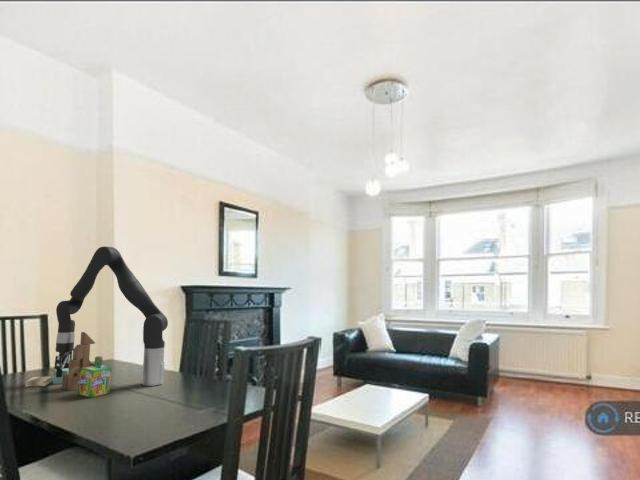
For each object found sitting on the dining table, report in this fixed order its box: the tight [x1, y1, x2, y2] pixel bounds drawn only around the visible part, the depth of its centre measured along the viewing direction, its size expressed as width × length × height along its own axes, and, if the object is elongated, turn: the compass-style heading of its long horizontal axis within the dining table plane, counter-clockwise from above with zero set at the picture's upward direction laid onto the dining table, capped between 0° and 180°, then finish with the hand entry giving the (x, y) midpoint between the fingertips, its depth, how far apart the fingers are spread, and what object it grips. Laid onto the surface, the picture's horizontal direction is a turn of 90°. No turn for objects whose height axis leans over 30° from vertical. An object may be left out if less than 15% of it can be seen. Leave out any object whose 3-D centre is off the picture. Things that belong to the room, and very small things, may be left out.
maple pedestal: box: [25, 376, 53, 388], centre depth 194 cm, size 8×8×3 cm
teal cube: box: [52, 367, 69, 385], centre depth 199 cm, size 6×6×6 cm
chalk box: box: [78, 359, 113, 399], centre depth 179 cm, size 9×9×15 cm
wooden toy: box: [61, 331, 103, 391], centre depth 192 cm, size 16×7×25 cm, turn 154°
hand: (62, 375), depth 199 cm, fingers open, 8 cm apart
